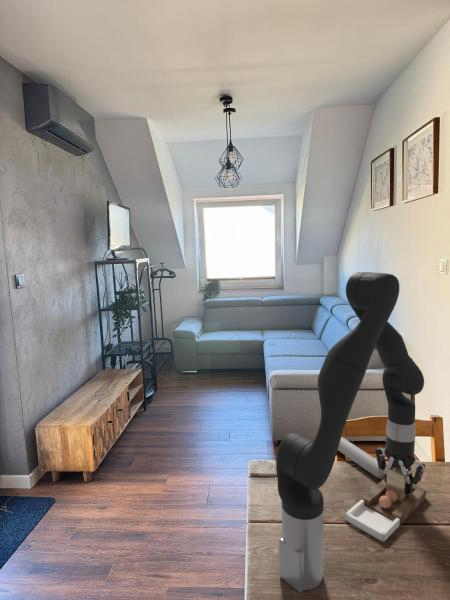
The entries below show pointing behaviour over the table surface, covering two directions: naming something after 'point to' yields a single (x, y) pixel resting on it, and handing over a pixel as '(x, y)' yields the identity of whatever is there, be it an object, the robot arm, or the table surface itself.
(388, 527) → the tray
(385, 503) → the ball
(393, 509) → the slot board
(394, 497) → the ball
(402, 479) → the block
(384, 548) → the table surface
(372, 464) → the tube
